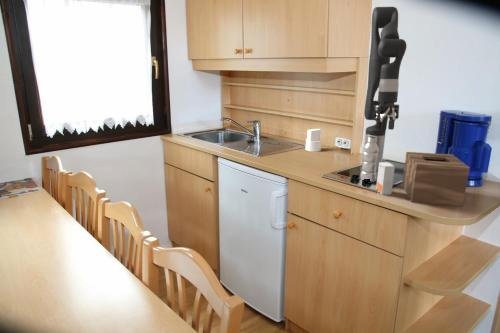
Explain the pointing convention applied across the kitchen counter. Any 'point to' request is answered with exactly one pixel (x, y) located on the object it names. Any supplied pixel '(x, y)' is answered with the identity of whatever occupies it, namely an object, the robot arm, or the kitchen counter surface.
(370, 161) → the plastic bottle
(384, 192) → the skincare box
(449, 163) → the walnut slot box
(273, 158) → the kitchen counter surface
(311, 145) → the cylinder with rectangular tab
